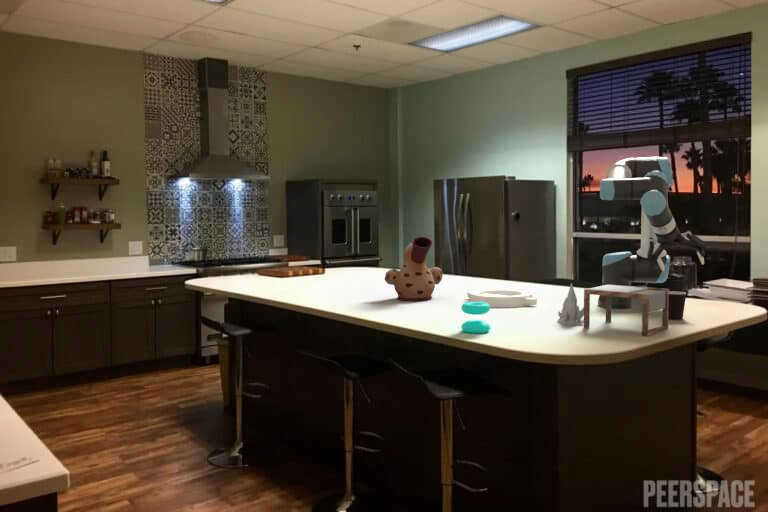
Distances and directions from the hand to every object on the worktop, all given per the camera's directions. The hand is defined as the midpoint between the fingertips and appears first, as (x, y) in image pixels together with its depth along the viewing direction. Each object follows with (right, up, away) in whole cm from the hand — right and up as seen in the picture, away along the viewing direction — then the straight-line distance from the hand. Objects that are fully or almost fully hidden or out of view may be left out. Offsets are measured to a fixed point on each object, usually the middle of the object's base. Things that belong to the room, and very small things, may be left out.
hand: (682, 265), depth 237 cm
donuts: (-77, -24, -8) cm, 81 cm away
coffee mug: (+3, -21, +14) cm, 25 cm away
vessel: (-93, -18, +72) cm, 119 cm away
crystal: (-39, -22, +8) cm, 45 cm away
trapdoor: (-23, -15, -6) cm, 28 cm away
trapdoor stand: (-24, -22, -5) cm, 33 cm away
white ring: (-56, -18, +60) cm, 84 cm away
